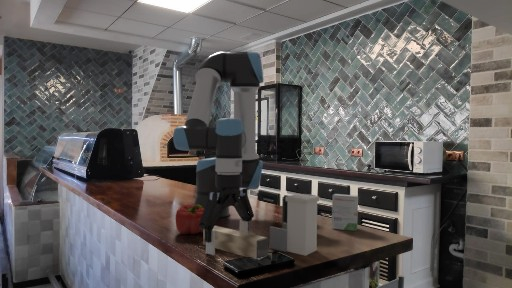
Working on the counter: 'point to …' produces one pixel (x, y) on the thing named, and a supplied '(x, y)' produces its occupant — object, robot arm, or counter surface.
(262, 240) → the rail
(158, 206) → the counter surface
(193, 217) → the vegetable
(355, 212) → the ink box
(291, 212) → the grey forked bracket
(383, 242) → the counter surface
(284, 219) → the mug
